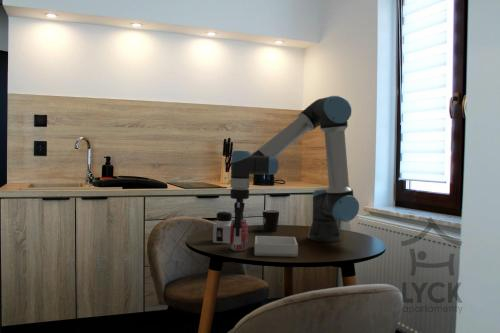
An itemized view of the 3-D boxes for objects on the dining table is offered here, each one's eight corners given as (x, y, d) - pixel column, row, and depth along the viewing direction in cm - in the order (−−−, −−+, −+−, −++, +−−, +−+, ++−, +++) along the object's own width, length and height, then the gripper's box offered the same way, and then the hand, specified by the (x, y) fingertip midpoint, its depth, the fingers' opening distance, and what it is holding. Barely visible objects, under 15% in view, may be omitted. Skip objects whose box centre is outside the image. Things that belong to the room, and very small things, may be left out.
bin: (294, 247, 192) (295, 237, 192) (297, 256, 175) (297, 245, 175) (255, 246, 192) (255, 235, 192) (254, 255, 176) (254, 243, 176)
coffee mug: (279, 232, 227) (279, 212, 226) (262, 232, 227) (262, 212, 227) (278, 228, 238) (278, 209, 238) (261, 228, 239) (262, 209, 238)
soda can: (230, 247, 189) (231, 218, 188) (247, 248, 189) (248, 219, 188) (229, 251, 182) (229, 221, 181) (246, 251, 182) (247, 221, 181)
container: (229, 243, 197) (230, 213, 196) (212, 242, 198) (213, 212, 198) (234, 240, 204) (234, 211, 204) (217, 239, 206) (218, 210, 206)
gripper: (232, 186, 197) (231, 235, 198) (228, 191, 172) (226, 247, 173) (250, 186, 197) (248, 235, 197) (247, 191, 172) (246, 247, 172)
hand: (238, 241), depth 185 cm, fingers open, 13 cm apart
